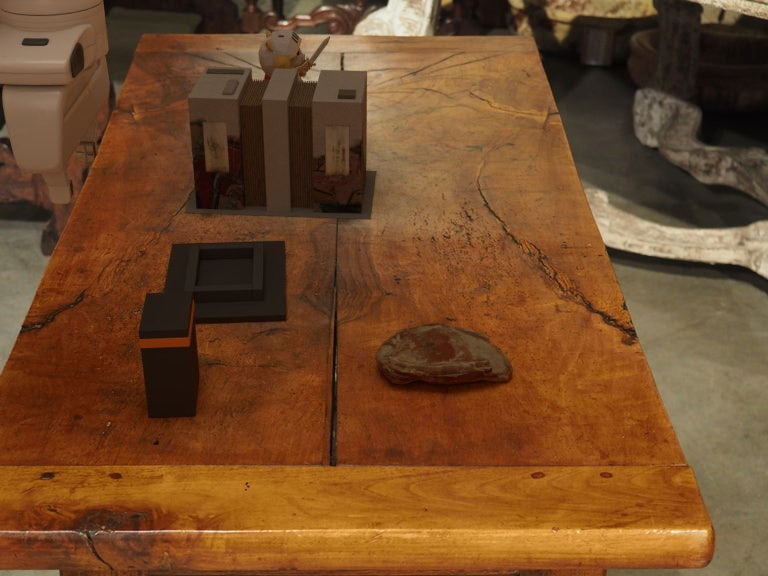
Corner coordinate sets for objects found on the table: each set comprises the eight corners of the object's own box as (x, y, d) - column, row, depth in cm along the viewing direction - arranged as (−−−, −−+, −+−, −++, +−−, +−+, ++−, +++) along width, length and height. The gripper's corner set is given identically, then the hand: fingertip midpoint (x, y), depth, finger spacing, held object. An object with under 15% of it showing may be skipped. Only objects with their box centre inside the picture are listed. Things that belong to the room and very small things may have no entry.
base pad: (159, 325, 119) (157, 307, 117) (172, 249, 134) (171, 232, 133) (286, 320, 120) (285, 303, 119) (284, 245, 135) (284, 229, 134)
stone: (481, 335, 118) (483, 310, 117) (517, 383, 110) (519, 357, 108) (364, 351, 115) (365, 326, 113) (392, 403, 106) (393, 377, 105)
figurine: (312, 140, 166) (311, 45, 158) (241, 134, 167) (236, 40, 160) (330, 111, 177) (330, 21, 169) (263, 105, 178) (259, 16, 171)
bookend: (370, 219, 142) (372, 102, 134) (183, 213, 143) (173, 97, 135) (376, 170, 156) (377, 62, 148) (205, 165, 157) (197, 57, 149)
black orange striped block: (148, 418, 104) (137, 331, 99) (154, 376, 110) (145, 292, 105) (196, 416, 104) (188, 329, 99) (200, 375, 110) (193, 291, 105)
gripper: (50, 2, 103) (69, 137, 110) (-18, 71, 85) (10, 226, 92) (116, 3, 103) (131, 137, 110) (62, 72, 86) (83, 227, 92)
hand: (75, 179), depth 101 cm, fingers open, 8 cm apart
